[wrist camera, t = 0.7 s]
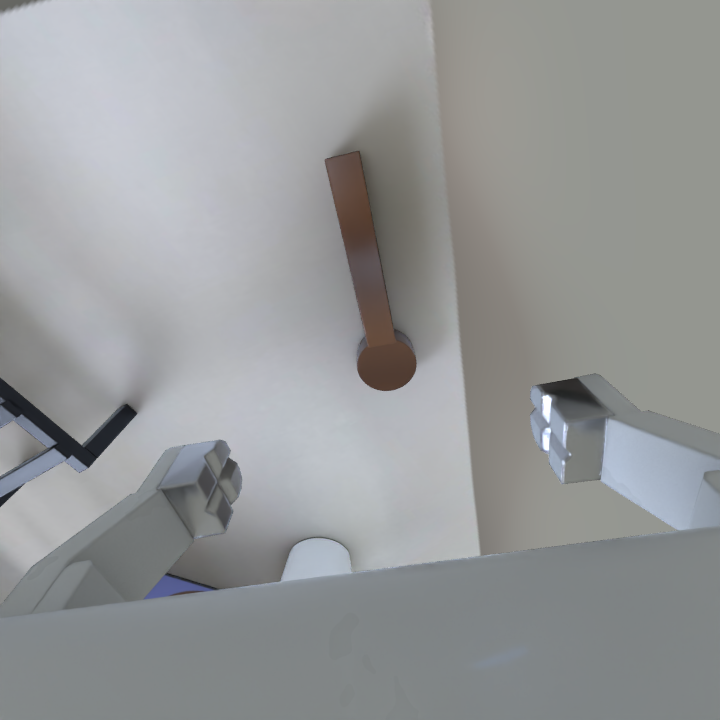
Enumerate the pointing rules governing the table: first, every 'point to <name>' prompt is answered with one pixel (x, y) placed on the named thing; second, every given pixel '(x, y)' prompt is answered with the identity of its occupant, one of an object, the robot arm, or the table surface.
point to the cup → (316, 560)
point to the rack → (52, 440)
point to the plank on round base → (368, 280)
